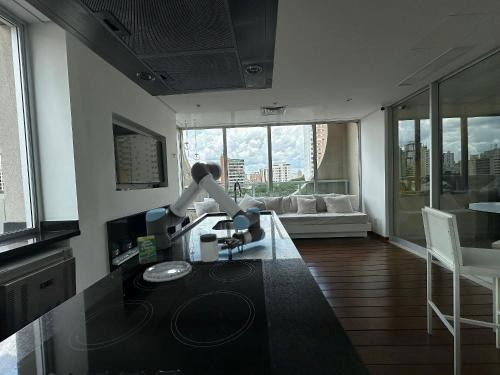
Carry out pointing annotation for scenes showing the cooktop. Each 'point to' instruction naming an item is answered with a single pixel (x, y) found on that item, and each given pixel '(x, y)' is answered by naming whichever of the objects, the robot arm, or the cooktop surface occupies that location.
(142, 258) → the coffee box
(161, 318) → the cooktop surface
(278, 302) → the cooktop surface
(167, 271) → the rosette plate
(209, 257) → the jar
